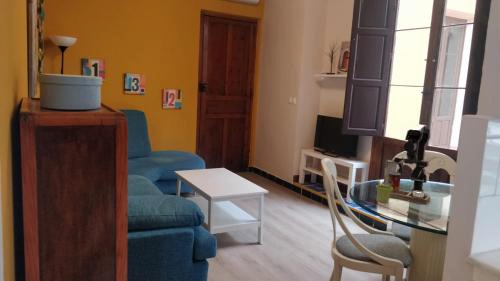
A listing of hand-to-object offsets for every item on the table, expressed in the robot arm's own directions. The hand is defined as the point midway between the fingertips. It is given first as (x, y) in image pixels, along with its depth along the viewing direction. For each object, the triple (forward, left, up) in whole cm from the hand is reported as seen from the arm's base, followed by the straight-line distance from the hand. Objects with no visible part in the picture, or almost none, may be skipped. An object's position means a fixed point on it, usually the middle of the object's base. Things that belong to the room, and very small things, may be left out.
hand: (409, 175), depth 240 cm
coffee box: (-33, -20, -15) cm, 42 cm away
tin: (-4, +5, -15) cm, 16 cm away
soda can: (-14, -12, -15) cm, 24 cm away
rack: (-4, 0, -15) cm, 15 cm away
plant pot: (+15, -10, -15) cm, 23 cm away
